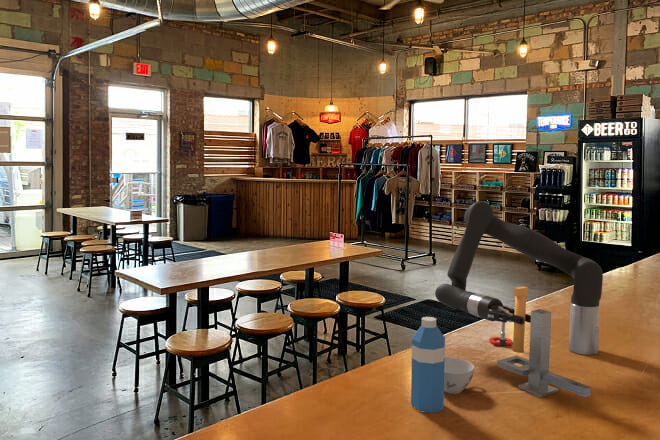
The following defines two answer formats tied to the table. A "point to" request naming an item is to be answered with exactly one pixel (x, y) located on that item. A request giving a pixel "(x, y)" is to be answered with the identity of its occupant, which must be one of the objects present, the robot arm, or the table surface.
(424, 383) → the water bottle
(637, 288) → the table surface
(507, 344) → the red handwheel with stem
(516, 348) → the wedge pin
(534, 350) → the scaffold post with crossbars
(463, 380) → the teacup
